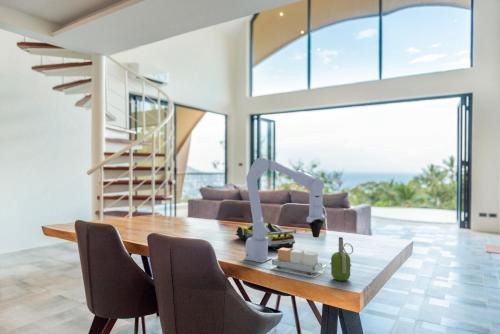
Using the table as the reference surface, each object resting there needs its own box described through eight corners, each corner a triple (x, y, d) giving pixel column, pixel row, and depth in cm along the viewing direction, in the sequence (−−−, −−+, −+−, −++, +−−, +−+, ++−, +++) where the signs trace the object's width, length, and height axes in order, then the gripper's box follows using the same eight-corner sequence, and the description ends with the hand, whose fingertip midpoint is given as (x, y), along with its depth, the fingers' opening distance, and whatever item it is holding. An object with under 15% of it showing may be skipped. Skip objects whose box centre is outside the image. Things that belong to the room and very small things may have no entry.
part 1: (290, 264, 125) (290, 251, 125) (295, 262, 128) (295, 249, 128) (299, 266, 122) (299, 253, 122) (304, 263, 126) (304, 250, 126)
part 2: (303, 266, 122) (303, 253, 122) (307, 264, 125) (307, 251, 125) (313, 268, 119) (313, 255, 119) (317, 266, 122) (317, 253, 123)
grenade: (347, 276, 118) (347, 235, 119) (355, 284, 110) (355, 240, 110) (327, 276, 118) (327, 235, 118) (334, 284, 110) (334, 240, 110)
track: (269, 268, 127) (269, 268, 127) (291, 258, 142) (291, 258, 142) (314, 278, 116) (314, 277, 116) (333, 266, 131) (333, 266, 131)
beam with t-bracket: (272, 267, 128) (272, 259, 128) (288, 260, 139) (288, 252, 139) (314, 276, 117) (314, 267, 117) (328, 267, 128) (328, 259, 128)
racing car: (258, 234, 193) (259, 214, 193) (298, 251, 160) (299, 227, 159) (233, 236, 185) (233, 215, 185) (269, 255, 151) (270, 230, 151)
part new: (277, 262, 128) (277, 249, 128) (282, 259, 131) (282, 247, 131) (286, 263, 126) (286, 250, 126) (291, 261, 129) (291, 248, 129)
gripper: (317, 207, 132) (317, 241, 132) (331, 205, 144) (330, 235, 144) (302, 206, 136) (301, 238, 136) (316, 204, 148) (316, 233, 148)
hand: (315, 237), depth 140 cm, fingers closed
